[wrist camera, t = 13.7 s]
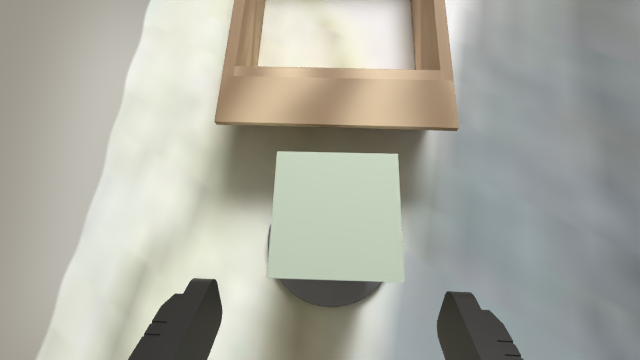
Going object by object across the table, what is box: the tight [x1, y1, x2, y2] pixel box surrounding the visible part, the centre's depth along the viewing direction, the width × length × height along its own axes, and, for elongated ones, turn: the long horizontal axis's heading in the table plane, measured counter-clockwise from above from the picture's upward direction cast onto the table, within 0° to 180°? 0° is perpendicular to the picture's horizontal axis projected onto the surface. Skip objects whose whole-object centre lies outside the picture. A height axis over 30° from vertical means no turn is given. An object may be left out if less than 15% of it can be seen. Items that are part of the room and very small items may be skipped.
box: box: [267, 151, 405, 282], centre depth 16 cm, size 5×5×10 cm
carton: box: [214, 0, 459, 131], centre depth 25 cm, size 16×25×5 cm, turn 178°
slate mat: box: [268, 225, 381, 307], centre depth 21 cm, size 9×9×1 cm
